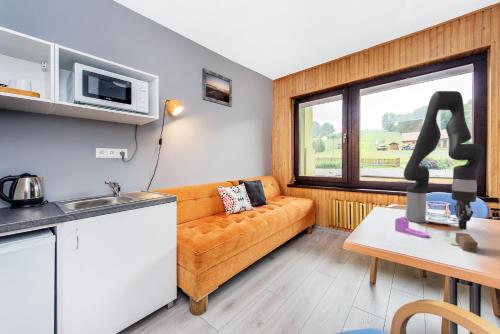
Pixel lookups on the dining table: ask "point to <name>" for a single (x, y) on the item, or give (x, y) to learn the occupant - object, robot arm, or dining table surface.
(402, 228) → the bracket
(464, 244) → the walnut block
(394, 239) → the dining table surface
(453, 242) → the mat
